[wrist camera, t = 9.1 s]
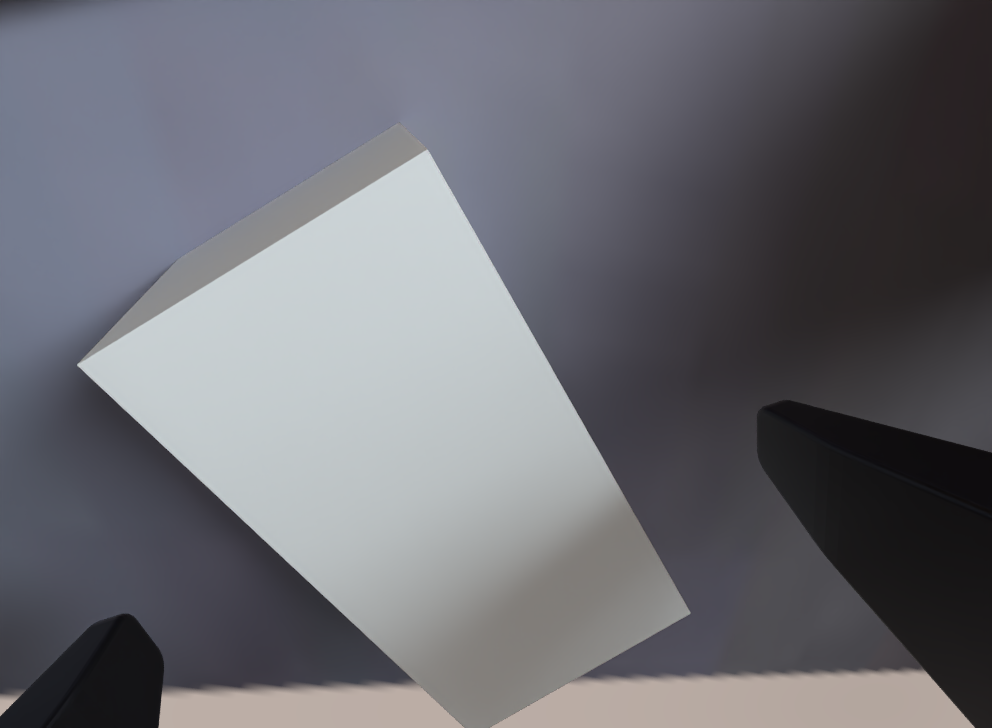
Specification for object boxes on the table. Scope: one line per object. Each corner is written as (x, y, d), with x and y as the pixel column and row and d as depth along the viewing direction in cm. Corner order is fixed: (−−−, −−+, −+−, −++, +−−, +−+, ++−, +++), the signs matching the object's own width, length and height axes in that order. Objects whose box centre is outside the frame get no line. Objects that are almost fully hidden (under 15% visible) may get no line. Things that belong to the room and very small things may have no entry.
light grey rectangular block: (180, 256, 10) (76, 364, 7) (398, 121, 10) (427, 149, 6) (441, 559, 15) (473, 736, 11) (598, 467, 15) (691, 613, 11)
